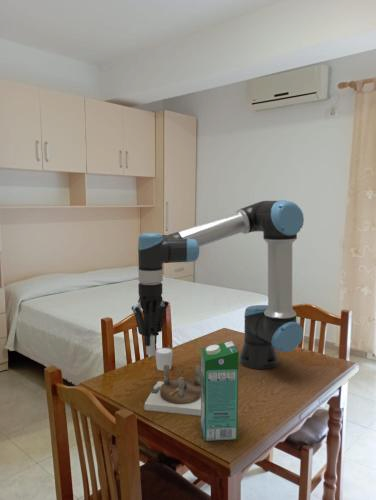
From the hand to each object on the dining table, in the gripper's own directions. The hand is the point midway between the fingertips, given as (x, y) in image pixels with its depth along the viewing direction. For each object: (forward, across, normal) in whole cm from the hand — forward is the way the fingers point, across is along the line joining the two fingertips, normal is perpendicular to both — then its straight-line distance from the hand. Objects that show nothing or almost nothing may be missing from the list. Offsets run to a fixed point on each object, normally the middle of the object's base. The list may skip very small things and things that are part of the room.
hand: (150, 354), depth 129 cm
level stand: (+16, -8, +6) cm, 18 cm away
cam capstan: (+13, -8, +6) cm, 16 cm away
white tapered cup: (+16, -19, -18) cm, 31 cm away
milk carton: (+16, -4, +27) cm, 31 cm away
